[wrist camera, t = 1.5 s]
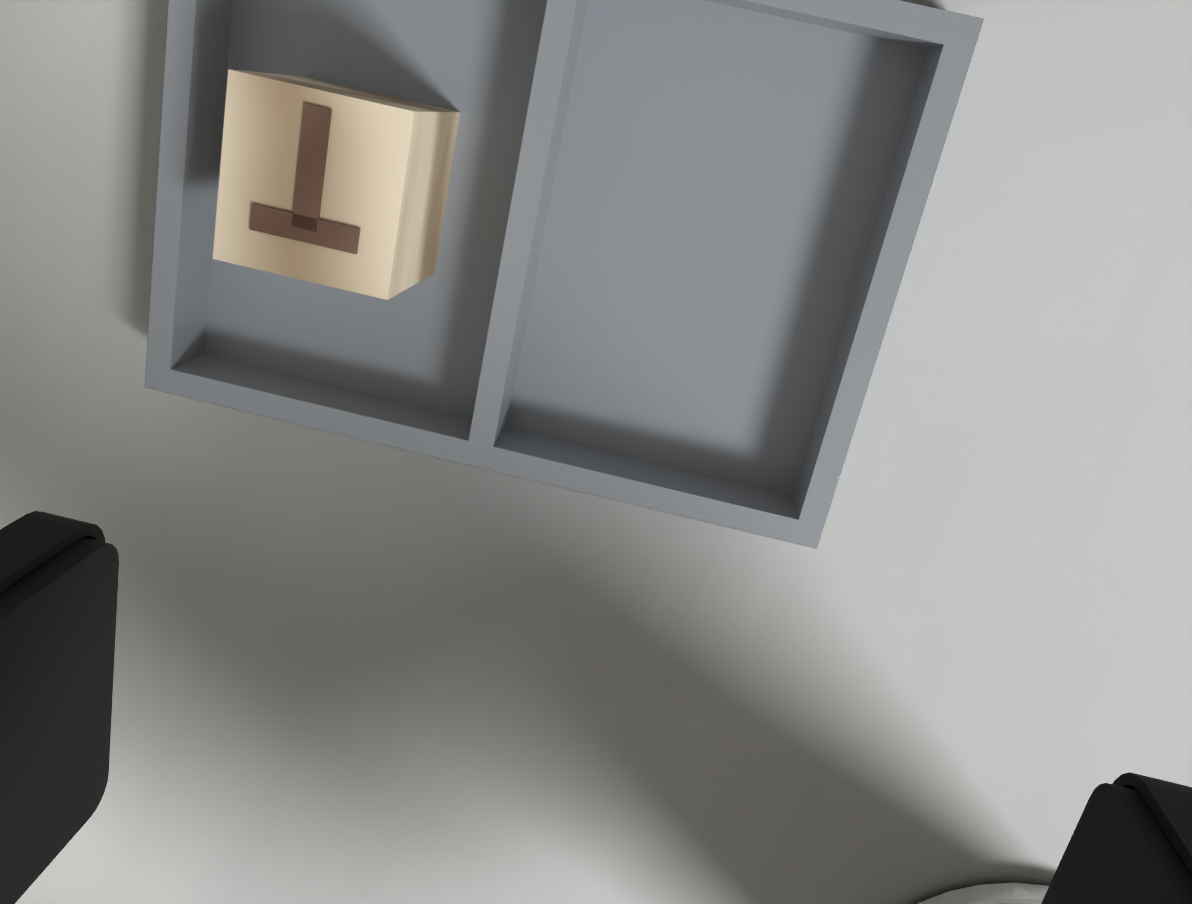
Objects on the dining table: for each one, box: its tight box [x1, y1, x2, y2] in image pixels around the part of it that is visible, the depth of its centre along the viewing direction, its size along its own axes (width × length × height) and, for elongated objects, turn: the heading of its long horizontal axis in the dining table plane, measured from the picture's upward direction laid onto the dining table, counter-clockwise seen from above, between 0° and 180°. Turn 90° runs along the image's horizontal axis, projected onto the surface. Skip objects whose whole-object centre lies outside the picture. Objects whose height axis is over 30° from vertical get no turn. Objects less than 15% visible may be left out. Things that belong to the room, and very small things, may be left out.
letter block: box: [213, 69, 460, 300], centre depth 29 cm, size 5×5×5 cm
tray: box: [145, 0, 984, 549], centre depth 31 cm, size 22×16×3 cm
